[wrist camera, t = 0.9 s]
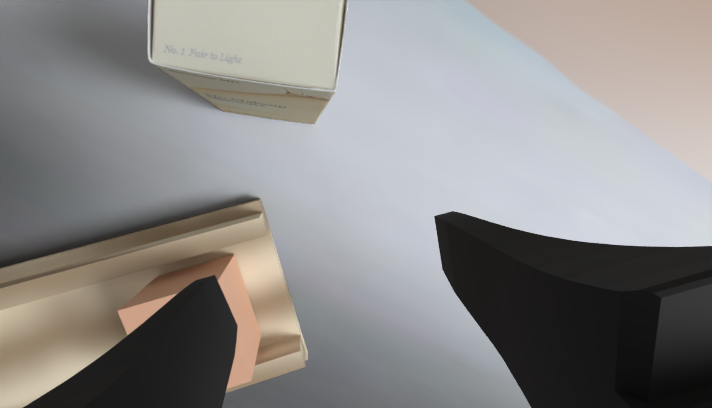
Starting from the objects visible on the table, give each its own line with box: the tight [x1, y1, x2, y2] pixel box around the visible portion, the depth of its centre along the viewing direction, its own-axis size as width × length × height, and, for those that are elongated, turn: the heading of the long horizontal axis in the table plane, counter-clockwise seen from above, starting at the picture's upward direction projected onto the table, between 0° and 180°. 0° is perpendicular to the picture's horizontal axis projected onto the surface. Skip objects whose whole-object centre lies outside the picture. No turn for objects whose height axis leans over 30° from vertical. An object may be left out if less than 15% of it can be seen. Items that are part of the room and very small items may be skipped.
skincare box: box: [147, 0, 348, 124], centre depth 17 cm, size 6×4×12 cm
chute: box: [0, 199, 308, 408], centre depth 22 cm, size 12×24×3 cm, turn 104°
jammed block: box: [118, 254, 261, 389], centre depth 21 cm, size 6×5×5 cm
